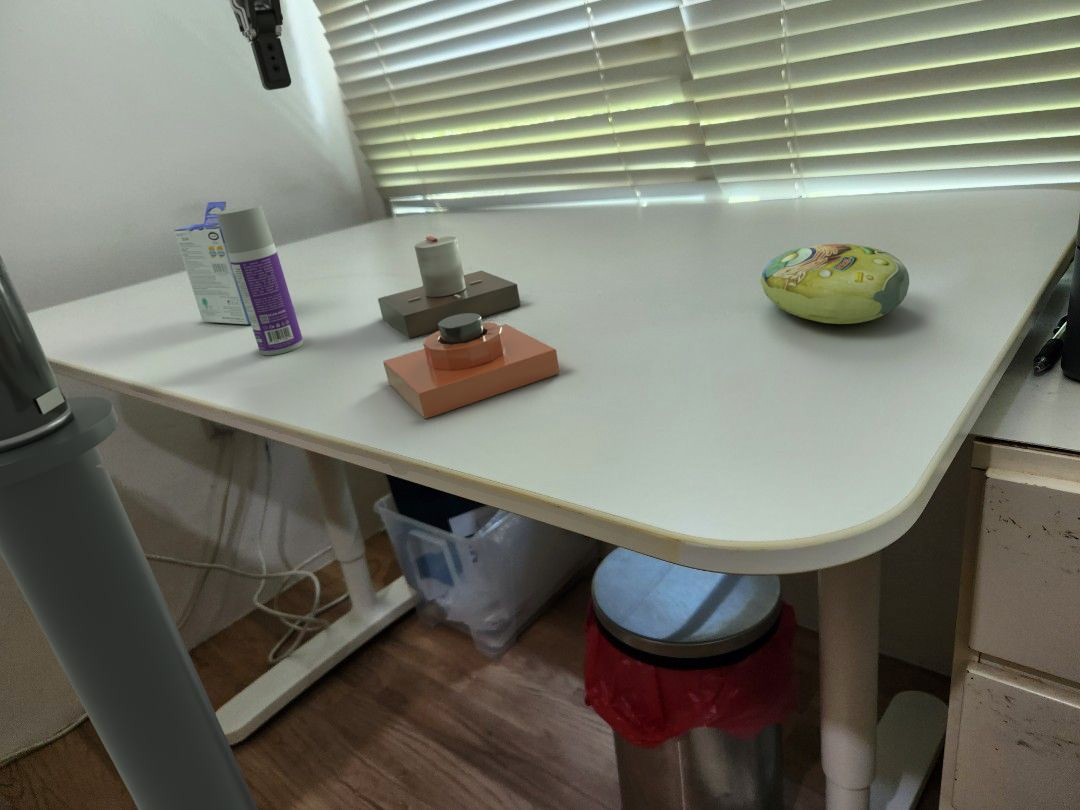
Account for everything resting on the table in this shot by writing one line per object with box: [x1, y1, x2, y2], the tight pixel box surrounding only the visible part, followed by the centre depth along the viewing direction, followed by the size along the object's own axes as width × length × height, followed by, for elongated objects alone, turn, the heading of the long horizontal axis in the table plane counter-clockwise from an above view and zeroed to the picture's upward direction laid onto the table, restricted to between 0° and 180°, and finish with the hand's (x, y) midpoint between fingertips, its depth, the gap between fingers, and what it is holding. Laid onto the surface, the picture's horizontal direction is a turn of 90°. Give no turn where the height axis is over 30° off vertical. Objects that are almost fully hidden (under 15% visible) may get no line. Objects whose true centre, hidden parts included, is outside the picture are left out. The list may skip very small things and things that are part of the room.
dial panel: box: [377, 270, 521, 339], centre depth 83 cm, size 13×10×3 cm
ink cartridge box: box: [173, 200, 251, 325], centre depth 94 cm, size 10×6×14 cm, turn 58°
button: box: [438, 313, 484, 345], centre depth 62 cm, size 4×4×2 cm
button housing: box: [382, 321, 561, 420], centre depth 63 cm, size 12×10×4 cm
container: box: [216, 203, 304, 356], centre depth 79 cm, size 5×5×15 cm
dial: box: [414, 235, 466, 297], centre depth 82 cm, size 5×5×6 cm
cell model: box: [760, 243, 910, 325], centre depth 65 cm, size 11×8×15 cm
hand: (278, 88), depth 63 cm, fingers closed
